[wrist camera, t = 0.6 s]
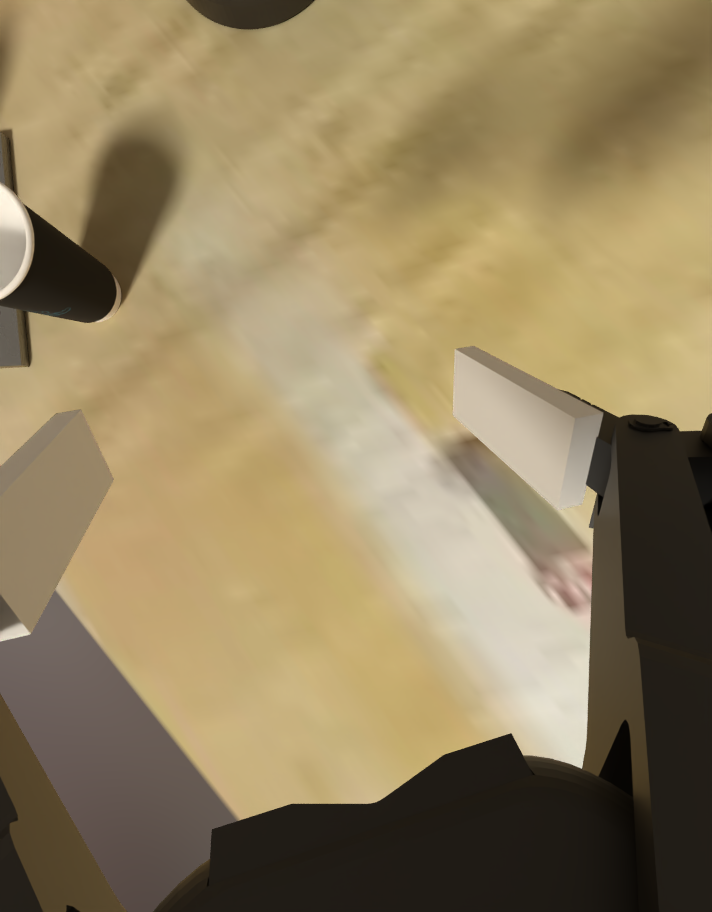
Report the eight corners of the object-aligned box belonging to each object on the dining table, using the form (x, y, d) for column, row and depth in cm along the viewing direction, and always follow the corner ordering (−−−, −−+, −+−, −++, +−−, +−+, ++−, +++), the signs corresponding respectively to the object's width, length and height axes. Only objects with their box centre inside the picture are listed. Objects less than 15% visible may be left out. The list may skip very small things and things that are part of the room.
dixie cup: (80, 355, 37) (-48, 325, 26) (39, 277, 37) (-108, 213, 26) (153, 313, 36) (52, 264, 25) (111, 232, 36) (-9, 147, 25)
